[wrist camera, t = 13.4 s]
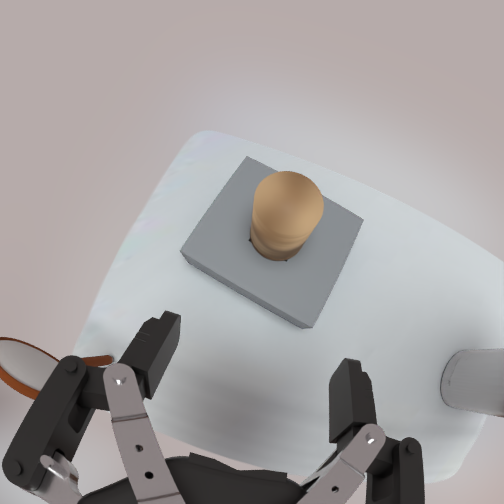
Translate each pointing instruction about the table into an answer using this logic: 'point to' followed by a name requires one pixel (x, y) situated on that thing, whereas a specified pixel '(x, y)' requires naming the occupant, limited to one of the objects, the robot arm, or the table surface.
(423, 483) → the robot arm
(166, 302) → the table surface
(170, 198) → the table surface
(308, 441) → the table surface
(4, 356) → the magnifying glass
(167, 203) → the table surface
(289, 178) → the peg
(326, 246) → the board
